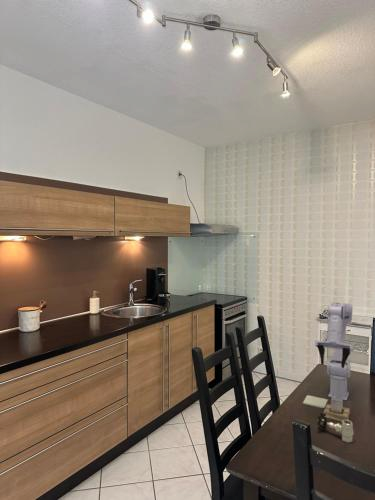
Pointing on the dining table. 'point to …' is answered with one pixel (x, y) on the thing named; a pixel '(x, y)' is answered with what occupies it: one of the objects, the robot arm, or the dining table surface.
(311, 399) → the sage pad
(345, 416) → the socket block
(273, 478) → the dining table surface
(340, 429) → the valve
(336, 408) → the steel peg
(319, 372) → the dining table surface
